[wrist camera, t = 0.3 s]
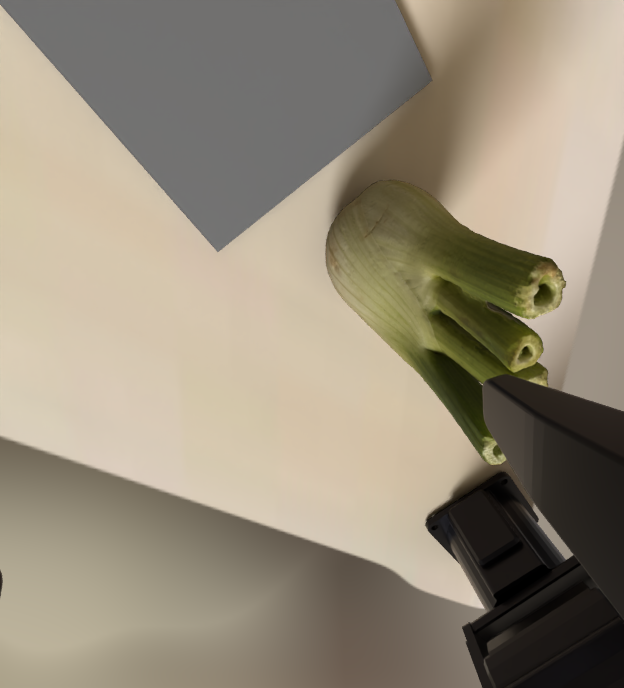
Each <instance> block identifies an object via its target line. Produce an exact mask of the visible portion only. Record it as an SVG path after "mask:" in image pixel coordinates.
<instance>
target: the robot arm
mask: <svg viewBox="0 0 624 688" xmlns="http://www.w3.org/2000/svg"><path fill="white" fill-rule="evenodd" d="M482 390H483V414H484V420H485V423H486V426H487V428H488V430H489V431H490V433H491V435H492V436H493V438H494V440H495V441H496V443H497V444H498V446H499V448H500V449H501V451H502V453H503V454H504V456H505V458H506V459H507V461H508V462H509V464H510V466H511V467H512V469H513V471H514V472H515V474H516V476H517V477H518V479H519V480H520V482H521V484H522V485H523V487H524V489H525V490H526V492H527V493H528V495H529V496H530V498H531V499H532V501H533V502H534V503H535V505H536V506H537V507H538V509H539V510H540V512H541V513H542V514H543V516H544V517H545V518H546V519H547V521H548V522H549V523H550V525H551V526H552V527H553V528H554V530H555V531H556V532H557V534H558V535H559V536H560V537H561V539H562V540H563V542H564V543H565V544H566V545H567V547H568V548H569V549H570V551H571V552H572V553H573V554H574V555H573V556H572V557H570V558H569V559H567V560H566V559H565V558H564V557H563V556H562V554H561V553H560V552H559V550H558V549H557V548H556V547H555V545H554V544H553V543H552V542H551V540H550V539H549V538H548V537H547V535H546V534H545V533H544V531H543V530H542V529H541V528H540V527H539V525H538V524H537V522H538V520H539V519H538V517H537V515H536V514H535V512H534V511H533V509H532V508H531V507H530V505H529V504H528V502H527V501H526V499H525V498H524V496H523V495H522V493H521V492H520V491H519V489H518V488H517V486H516V485H515V483H514V482H513V480H512V479H511V477H510V476H509V475H508V474H507V473H506V472H501V473H499V474H497V475H496V476H494V477H492V478H491V479H489V480H488V481H486V482H485V483H483V484H482V485H480V486H479V487H477V488H476V489H474V490H473V491H471V492H470V493H468V494H467V495H465V496H464V497H462V498H461V499H459V500H458V501H456V502H455V503H453V504H452V505H450V506H448V507H447V508H445V509H444V510H442V511H441V512H439V513H438V514H436V515H435V516H433V517H432V518H430V519H429V520H428V521H427V522H426V524H425V526H426V528H427V529H428V531H429V533H430V534H431V535H432V536H433V537H434V538H435V539H436V540H437V541H438V542H439V543H440V544H441V545H442V546H443V547H444V548H445V549H446V550H447V551H448V552H449V553H450V554H451V555H452V557H453V558H454V559H455V560H456V561H457V562H458V563H459V564H460V565H461V567H462V569H463V570H464V572H465V574H466V576H467V578H468V579H469V581H470V583H471V585H472V587H473V588H474V590H475V592H476V594H477V596H478V597H479V599H480V601H481V603H482V605H483V606H484V608H485V610H486V612H487V613H486V614H484V615H482V616H481V617H479V618H478V619H476V620H475V621H473V622H472V623H470V622H469V623H467V624H466V625H464V626H462V629H463V631H464V634H465V637H466V639H467V641H466V644H467V647H468V650H469V652H470V655H471V658H472V661H473V663H474V666H475V669H476V671H477V674H478V677H479V679H480V682H481V685H482V688H624V411H621V410H617V409H614V408H611V407H608V406H605V405H602V404H599V403H596V402H593V401H589V400H586V399H583V398H580V397H577V396H574V395H570V394H568V393H565V392H562V391H558V390H555V389H552V388H549V387H546V386H543V385H540V384H537V383H534V382H531V381H527V380H524V379H521V378H518V377H515V376H512V375H508V374H502V375H499V376H496V377H493V378H489V379H487V380H485V381H484V383H483V388H482ZM2 583H3V580H2V573H1V571H0V596H1V590H2Z"/></svg>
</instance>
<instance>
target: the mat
mask: <svg viewBox="0 0 624 688" xmlns="http://www.w3.org/2000/svg"><path fill="white" fill-rule="evenodd" d="M0 5H1V6H2V7H3V8H4V9H5V10H6V12H7V13H8V14H9V15H10V16H11V17H12V18H13V20H14V21H15V22H16V23H17V24H18V25H19V26H20V27H21V29H22V30H23V31H24V32H25V33H26V34H27V35H28V37H29V38H30V39H31V40H32V41H33V42H34V43H35V45H36V46H37V47H38V48H39V49H40V50H41V51H42V53H43V54H44V55H45V56H46V57H47V58H48V59H49V60H50V62H51V63H52V64H53V65H54V66H55V67H56V68H57V70H58V71H59V72H60V73H61V74H62V75H63V76H64V78H65V79H66V80H67V81H68V82H69V83H70V84H71V86H72V87H73V88H74V89H75V90H76V91H77V92H78V93H79V95H80V96H81V97H82V98H83V99H84V100H85V101H86V103H87V104H88V105H89V106H90V107H91V108H92V109H93V111H94V112H95V113H96V114H97V115H98V116H99V117H100V119H101V120H102V121H103V122H104V123H105V124H106V125H107V126H108V128H109V129H110V130H111V131H112V132H113V133H114V134H115V136H116V137H117V138H118V139H119V140H120V141H121V142H122V144H123V145H124V146H125V147H126V148H127V149H128V150H129V152H130V153H131V154H132V155H133V156H134V157H135V158H136V159H137V161H138V162H139V163H140V164H141V165H142V166H143V167H144V169H145V170H146V171H147V172H148V173H149V174H150V175H151V177H152V178H153V179H154V180H155V181H156V182H157V183H158V185H159V186H160V187H161V188H162V189H163V190H164V191H165V192H166V194H167V195H168V196H169V197H170V198H171V199H172V200H173V202H174V203H175V204H176V205H177V206H178V207H179V208H180V210H181V211H182V212H183V213H184V214H185V215H186V216H187V218H188V219H189V220H190V221H191V222H192V223H193V224H194V226H195V227H196V228H197V229H198V230H199V231H200V232H201V233H202V235H203V236H204V237H205V238H206V239H207V240H208V241H209V243H210V244H211V245H212V246H213V247H214V248H215V249H216V251H217V252H219V251H220V250H221V249H222V248H224V247H225V246H226V245H227V244H229V243H230V242H231V241H232V240H234V239H235V238H236V237H237V236H239V235H240V234H241V233H242V232H244V231H245V230H246V229H247V228H249V227H250V226H251V225H252V224H254V223H255V222H256V221H257V220H259V219H260V218H261V217H262V216H264V215H265V214H266V213H267V212H269V211H270V210H271V209H272V208H274V207H275V206H276V205H277V204H279V203H280V202H281V201H282V200H284V199H285V198H286V197H287V196H289V195H290V194H291V193H292V192H294V191H295V190H296V189H297V188H299V187H300V186H301V185H302V184H304V183H305V182H306V181H307V180H309V179H310V178H311V177H312V176H314V175H315V174H316V173H317V172H319V171H320V170H321V169H322V168H324V167H325V166H326V165H327V164H329V163H330V162H331V161H332V160H334V159H335V158H336V157H337V156H339V155H340V154H341V153H342V152H344V151H345V150H346V149H347V148H349V147H350V146H351V145H353V144H354V143H355V142H356V141H358V140H359V139H360V138H361V137H363V136H364V135H365V134H366V133H368V132H369V131H370V130H371V129H373V128H374V127H375V126H376V125H378V124H379V123H380V122H381V121H383V120H384V119H385V118H386V117H388V116H389V115H390V114H391V113H393V112H394V111H395V110H396V109H398V108H399V107H400V106H401V105H403V104H404V103H405V102H406V101H408V100H409V99H410V98H411V97H413V96H414V95H415V94H416V93H418V92H419V91H420V90H421V89H423V88H424V87H425V86H426V85H428V84H429V83H430V82H431V81H432V78H431V76H430V74H429V72H428V70H427V68H426V66H425V63H424V61H423V59H422V57H421V55H420V53H419V51H418V48H417V46H416V44H415V42H414V40H413V38H412V36H411V33H410V31H409V29H408V27H407V25H406V23H405V21H404V18H403V16H402V14H401V12H400V10H399V8H398V6H397V3H396V1H395V0H0Z"/></svg>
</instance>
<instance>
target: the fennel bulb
mask: <svg viewBox="0 0 624 688" xmlns="http://www.w3.org/2000/svg"><path fill="white" fill-rule="evenodd" d="M326 266H327V270H328V274H329V276H330V278H331V281H332V283H333V285H334V287H335V289H336V290H337V292H338V293H339V295H340V296H341V297H342V299H343V300H344V301H345V302H346V303H347V304H348V305H349V306H350V307H351V308H352V309H353V310H354V311H355V312H356V313H357V314H358V315H359V316H360V317H361V318H362V319H363V320H364V321H365V322H366V323H367V325H369V326H370V327H371V328H372V329H373V330H374V331H375V332H376V333H377V334H378V335H379V336H380V337H381V338H382V339H383V340H384V341H385V342H386V343H387V344H388V345H389V346H390V347H391V348H392V349H393V350H394V351H395V352H396V353H397V354H398V355H399V356H401V357H402V359H403V360H404V361H405V362H407V363H408V364H409V365H410V366H411V367H413V368H414V369H415V370H416V371H417V372H418V373H419V374H420V375H421V377H422V378H423V379H424V381H425V382H426V383H427V384H428V385H429V386H430V388H431V389H432V390H433V391H434V392H435V394H436V395H437V396H438V398H439V399H440V400H441V401H442V402H443V404H444V405H445V407H446V408H447V409H448V411H449V412H450V413H451V415H452V416H453V417H454V419H455V420H456V422H457V423H458V425H459V426H460V427H461V428H462V430H463V432H464V433H465V434H466V436H467V437H468V439H469V440H470V442H471V443H472V444H473V446H474V447H475V449H476V450H477V451H478V453H479V454H480V455H481V457H482V458H483V460H484V461H486V462H487V463H488V464H490V465H497V464H499V465H500V464H502V463H503V462H504V461H506V460H507V459H506V458H505V456H504V454H503V453H502V451H501V449H500V448H499V446H498V444H497V443H496V441H495V440H494V438H493V436H492V435H491V433H490V431H489V430H488V428H487V426H486V423H485V420H484V414H483V390H482V388H483V386H482V385H481V384H480V383H482V384H483V383H484V381H485V380H487V379H489V378H493V377H496V376H499V375H502V374H508V375H512V376H515V377H518V378H521V379H524V380H527V381H531V382H534V383H537V384H540V385H543V386H546V387H548V383H547V375H548V371H547V369H546V368H545V367H543V366H542V365H541V364H540V363H538V362H537V360H538V359H539V357H540V356H541V354H542V353H543V350H544V349H543V345H542V344H543V343H542V340H541V338H540V337H539V335H538V334H537V333H536V332H535V331H533V330H532V329H530V328H529V327H528V326H527V325H526V324H525V323H523V322H522V321H520V320H519V319H518V318H515V317H514V316H513V315H512V314H511V313H513V314H515V315H517V316H520V317H522V318H527V319H535V318H536V317H538V316H540V315H543V314H546V313H548V312H551V311H553V310H554V309H556V308H557V307H558V306H559V305H560V302H561V300H562V289H563V288H565V286H566V281H565V280H564V278H563V275H562V271H561V270H560V269H559V268H558V266H557V265H556V263H555V262H554V261H553V260H552V259H550V258H546V257H542V256H539V255H535V254H532V253H529V252H526V251H522V250H518V249H516V248H513V247H510V246H507V245H504V244H501V243H498V242H496V241H494V240H491V239H489V238H486V237H484V236H482V235H480V234H477V233H474V232H473V231H471V230H469V228H468V227H466V226H464V225H462V224H460V223H459V222H458V221H457V220H456V219H455V218H454V217H453V216H452V215H451V214H450V213H449V212H448V211H447V210H446V209H445V208H444V207H443V206H442V205H441V204H440V202H438V201H437V200H436V199H435V198H434V197H432V196H431V195H430V194H429V193H427V192H426V191H424V190H422V189H420V188H418V187H416V186H414V185H412V184H410V183H406V182H402V181H397V180H389V181H379V182H376V183H374V184H372V185H371V186H370V187H368V188H367V189H365V191H364V192H362V193H361V194H360V195H359V196H358V197H357V198H356V199H355V200H354V201H353V202H351V203H350V204H348V205H347V206H346V207H345V208H344V209H343V210H342V211H341V212H340V213H339V215H338V216H337V217H336V219H335V220H334V222H333V223H332V225H331V227H330V230H329V232H328V236H327V240H326ZM503 309H504V310H503ZM505 310H506V311H505ZM507 311H509V312H510V313H509V312H507ZM479 382H480V383H479Z"/></svg>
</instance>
